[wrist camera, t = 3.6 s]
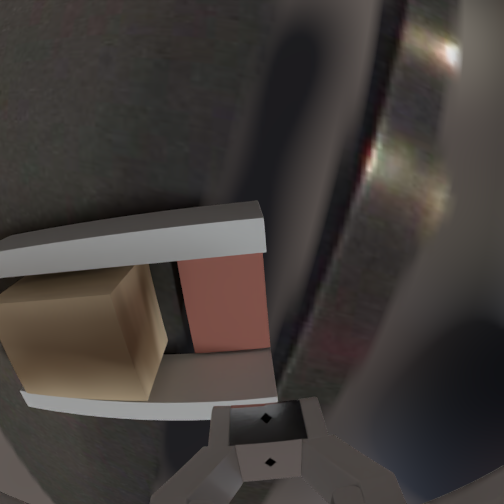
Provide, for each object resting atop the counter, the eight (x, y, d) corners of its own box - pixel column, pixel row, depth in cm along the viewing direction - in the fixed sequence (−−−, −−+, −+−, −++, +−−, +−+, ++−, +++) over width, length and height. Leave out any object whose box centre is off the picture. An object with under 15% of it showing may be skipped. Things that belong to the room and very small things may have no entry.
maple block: (37, 267, 15) (-15, 304, 11) (146, 251, 15) (110, 294, 10) (64, 343, 17) (27, 393, 12) (168, 339, 17) (147, 400, 12)
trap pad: (175, 239, 15) (173, 240, 15) (260, 230, 15) (260, 232, 15) (195, 350, 17) (195, 353, 17) (269, 344, 17) (270, 347, 17)
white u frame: (11, 235, 14) (-34, 257, 11) (257, 200, 15) (263, 217, 11) (55, 368, 17) (28, 406, 13) (271, 364, 17) (278, 414, 13)
